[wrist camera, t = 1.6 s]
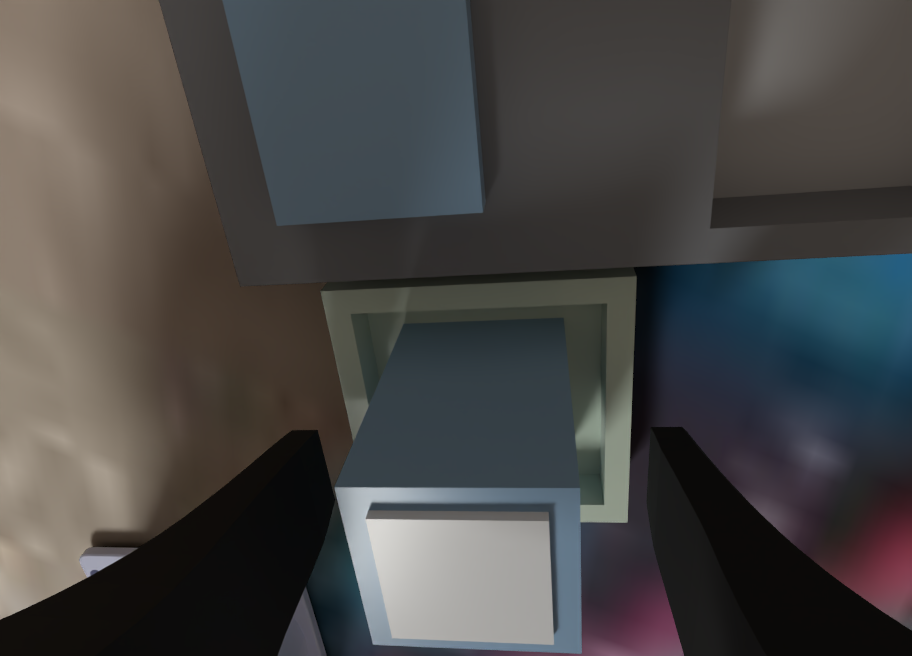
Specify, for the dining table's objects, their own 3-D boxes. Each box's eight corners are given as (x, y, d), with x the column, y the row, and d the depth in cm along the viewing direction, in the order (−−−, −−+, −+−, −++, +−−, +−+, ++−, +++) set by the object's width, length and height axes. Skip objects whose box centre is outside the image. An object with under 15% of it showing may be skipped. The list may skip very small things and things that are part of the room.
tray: (618, 476, 17) (627, 522, 16) (384, 476, 18) (370, 519, 17) (625, 247, 14) (636, 276, 13) (342, 262, 15) (320, 291, 14)
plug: (566, 448, 16) (582, 663, 11) (423, 449, 17) (370, 654, 12) (563, 317, 15) (581, 497, 9) (403, 323, 15) (330, 496, 10)
